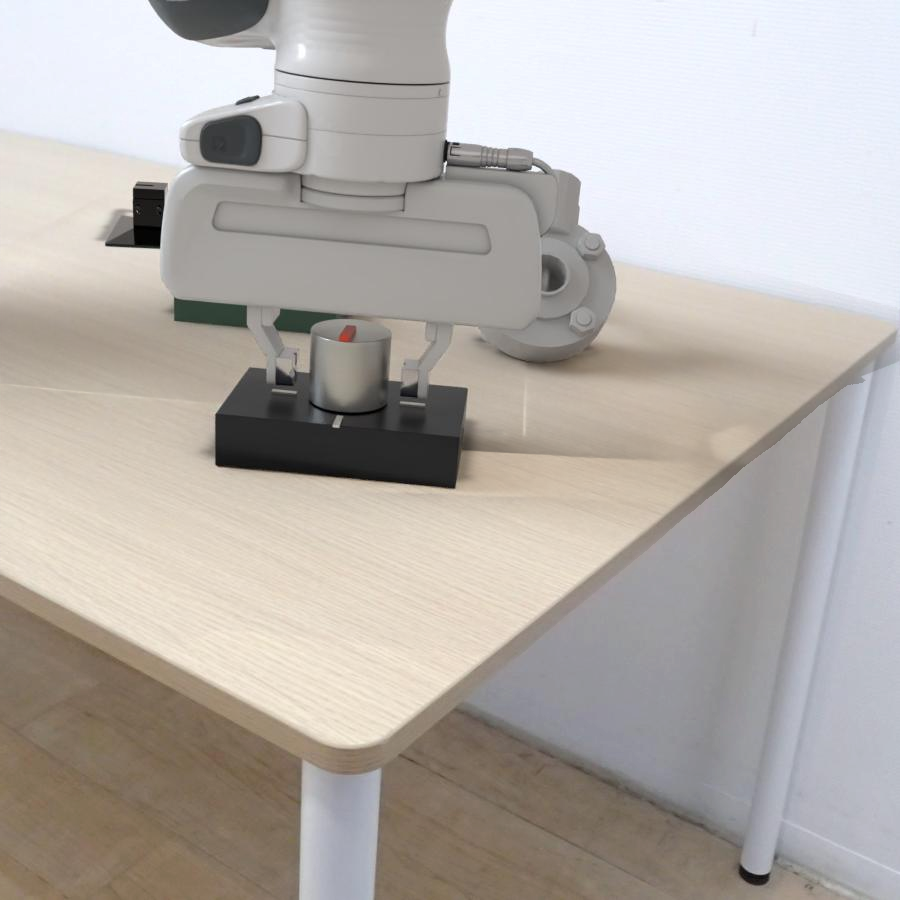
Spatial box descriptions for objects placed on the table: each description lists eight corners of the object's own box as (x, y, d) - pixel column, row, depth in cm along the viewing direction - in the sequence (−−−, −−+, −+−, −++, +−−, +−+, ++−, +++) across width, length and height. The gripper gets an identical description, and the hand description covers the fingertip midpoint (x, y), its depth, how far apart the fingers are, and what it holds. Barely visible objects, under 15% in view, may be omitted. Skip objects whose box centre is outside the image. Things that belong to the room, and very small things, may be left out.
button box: (173, 321, 86) (173, 268, 85) (202, 293, 94) (202, 244, 92) (335, 336, 86) (337, 283, 85) (351, 307, 93) (353, 258, 92)
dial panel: (213, 468, 63) (213, 413, 62) (249, 412, 71) (250, 362, 70) (455, 491, 62) (459, 436, 61) (464, 432, 70) (468, 383, 69)
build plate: (121, 219, 117) (120, 172, 115) (196, 223, 118) (196, 176, 116) (104, 246, 106) (102, 194, 104) (187, 250, 107) (187, 199, 105)
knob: (317, 382, 68) (320, 310, 66) (393, 390, 67) (397, 318, 66) (300, 408, 64) (302, 332, 62) (380, 417, 63) (385, 340, 62)
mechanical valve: (464, 328, 80) (492, 140, 85) (445, 415, 97) (469, 254, 102) (612, 352, 80) (631, 163, 85) (567, 434, 97) (585, 273, 102)
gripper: (562, 143, 62) (534, 388, 68) (182, 110, 63) (185, 354, 68) (564, 161, 57) (535, 427, 62) (146, 124, 57) (152, 390, 63)
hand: (348, 389), depth 65 cm, fingers open, 6 cm apart
